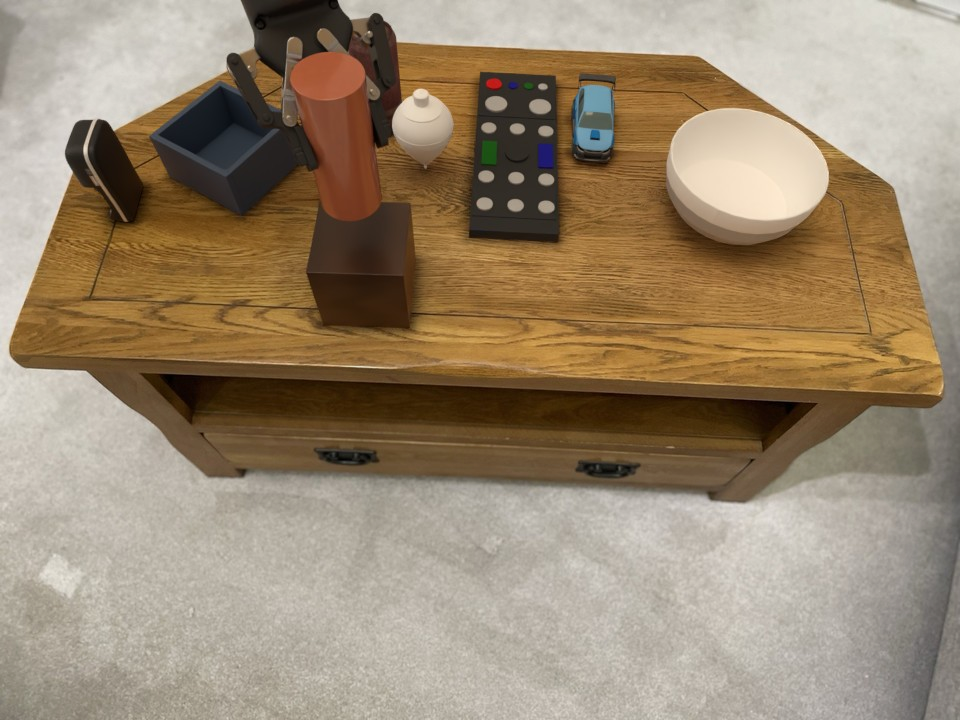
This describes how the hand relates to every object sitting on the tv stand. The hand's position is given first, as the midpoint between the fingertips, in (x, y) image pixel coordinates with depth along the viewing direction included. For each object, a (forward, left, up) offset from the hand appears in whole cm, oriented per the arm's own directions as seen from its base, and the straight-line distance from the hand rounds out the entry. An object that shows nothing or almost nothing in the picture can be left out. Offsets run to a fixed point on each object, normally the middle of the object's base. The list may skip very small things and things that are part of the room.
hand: (348, 157), depth 59 cm
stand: (+1, +1, -22) cm, 22 cm away
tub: (+8, +28, -22) cm, 37 cm away
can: (+25, +17, -22) cm, 38 cm away
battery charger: (-5, +36, -22) cm, 43 cm away
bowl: (+36, -30, -22) cm, 52 cm away
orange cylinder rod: (+1, +1, -7) cm, 7 cm away
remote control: (+30, -1, -22) cm, 38 cm away
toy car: (+39, -9, -22) cm, 46 cm away
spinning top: (+21, +7, -22) cm, 32 cm away
